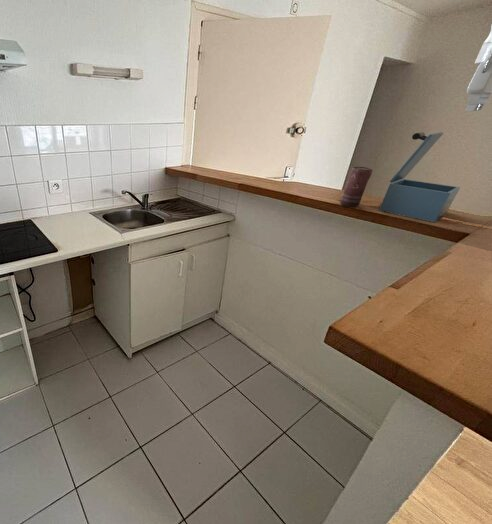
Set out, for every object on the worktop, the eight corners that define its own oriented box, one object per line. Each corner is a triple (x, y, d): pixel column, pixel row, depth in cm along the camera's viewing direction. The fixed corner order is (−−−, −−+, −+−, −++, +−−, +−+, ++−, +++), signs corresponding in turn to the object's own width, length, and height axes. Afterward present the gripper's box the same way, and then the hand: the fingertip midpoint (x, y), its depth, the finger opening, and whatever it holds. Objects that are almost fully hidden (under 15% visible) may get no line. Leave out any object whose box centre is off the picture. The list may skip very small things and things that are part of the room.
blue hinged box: (445, 215, 99) (460, 187, 94) (434, 222, 92) (450, 193, 88) (391, 204, 110) (402, 178, 105) (378, 210, 104) (389, 183, 99)
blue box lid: (443, 133, 94) (426, 127, 96) (432, 135, 87) (414, 128, 90) (404, 178, 105) (390, 171, 108) (391, 182, 99) (376, 175, 101)
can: (359, 208, 106) (374, 170, 99) (339, 205, 109) (352, 168, 102) (358, 204, 110) (372, 167, 103) (339, 201, 113) (352, 165, 106)
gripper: (510, 50, 71) (480, 111, 78) (522, 55, 81) (495, 110, 88) (475, 53, 76) (449, 111, 83) (490, 59, 86) (466, 110, 93)
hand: (473, 110), depth 85 cm, fingers open, 8 cm apart
